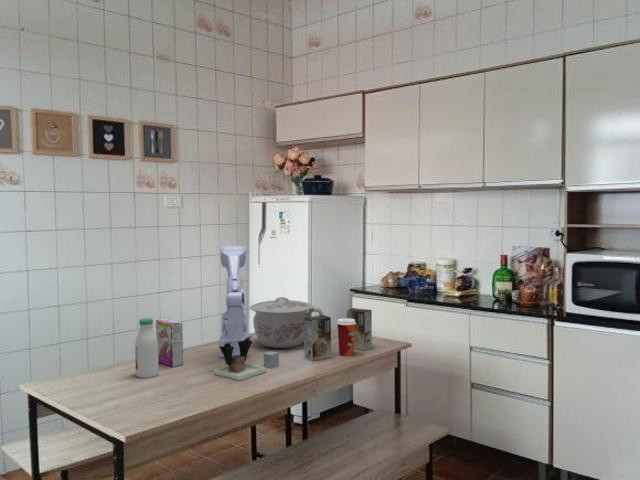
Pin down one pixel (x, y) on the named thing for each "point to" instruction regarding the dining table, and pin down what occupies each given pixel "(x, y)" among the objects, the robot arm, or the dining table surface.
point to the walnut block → (237, 364)
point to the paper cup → (346, 336)
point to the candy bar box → (169, 342)
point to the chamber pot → (281, 322)
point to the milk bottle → (146, 350)
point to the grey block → (271, 359)
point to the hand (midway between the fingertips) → (236, 362)
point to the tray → (247, 373)
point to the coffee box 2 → (361, 328)
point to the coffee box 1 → (317, 337)
